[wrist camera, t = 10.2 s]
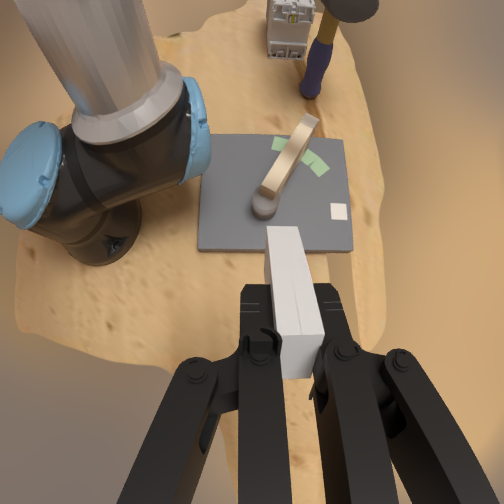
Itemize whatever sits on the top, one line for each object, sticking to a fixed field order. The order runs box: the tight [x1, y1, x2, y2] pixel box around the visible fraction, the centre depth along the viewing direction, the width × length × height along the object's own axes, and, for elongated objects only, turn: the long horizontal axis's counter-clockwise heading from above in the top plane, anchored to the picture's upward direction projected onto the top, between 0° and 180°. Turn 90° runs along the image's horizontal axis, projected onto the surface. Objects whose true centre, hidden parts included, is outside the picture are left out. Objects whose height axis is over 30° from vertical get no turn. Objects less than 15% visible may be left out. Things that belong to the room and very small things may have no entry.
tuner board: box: [198, 134, 353, 253], centre depth 46 cm, size 23×19×2 cm
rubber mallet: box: [300, 0, 379, 98], centre depth 36 cm, size 12×8×30 cm, turn 5°
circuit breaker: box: [266, 0, 316, 61], centre depth 46 cm, size 8×14×15 cm, turn 1°
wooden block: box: [252, 113, 319, 220], centre depth 41 cm, size 15×4×8 cm, turn 150°
